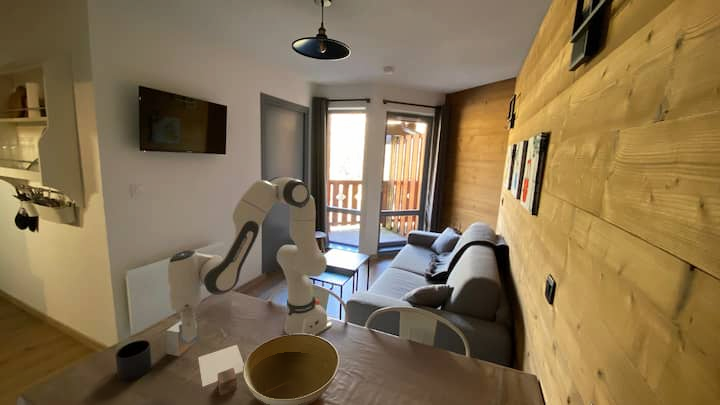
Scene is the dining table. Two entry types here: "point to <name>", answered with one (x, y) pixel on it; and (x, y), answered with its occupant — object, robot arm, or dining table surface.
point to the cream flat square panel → (219, 364)
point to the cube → (183, 342)
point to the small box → (175, 341)
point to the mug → (133, 360)
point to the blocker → (227, 381)
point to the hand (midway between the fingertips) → (188, 335)
